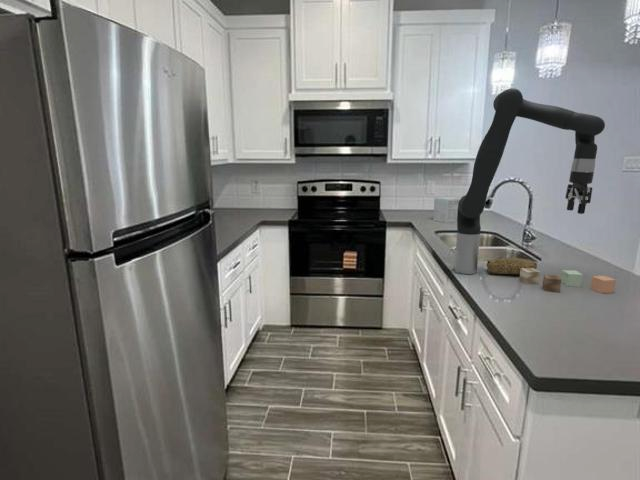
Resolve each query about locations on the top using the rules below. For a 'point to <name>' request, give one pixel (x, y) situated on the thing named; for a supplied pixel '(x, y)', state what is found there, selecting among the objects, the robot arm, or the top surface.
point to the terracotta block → (602, 284)
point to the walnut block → (551, 283)
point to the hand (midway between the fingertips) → (575, 211)
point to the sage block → (571, 278)
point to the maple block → (529, 276)
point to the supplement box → (445, 209)
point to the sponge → (509, 265)
